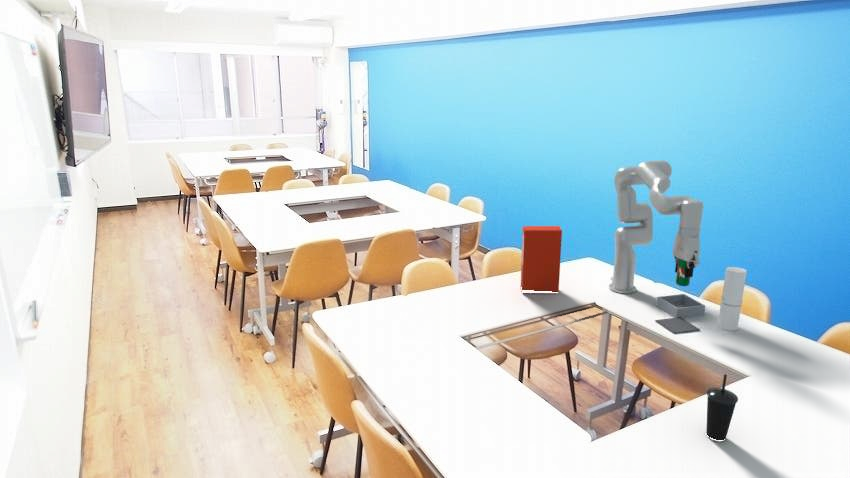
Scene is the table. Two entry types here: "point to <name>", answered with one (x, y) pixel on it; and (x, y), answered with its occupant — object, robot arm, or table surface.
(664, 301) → the grey bin
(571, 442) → the table surface
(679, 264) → the soda can
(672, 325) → the mat
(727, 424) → the drinking cup
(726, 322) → the cylindrical container
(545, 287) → the file binder
